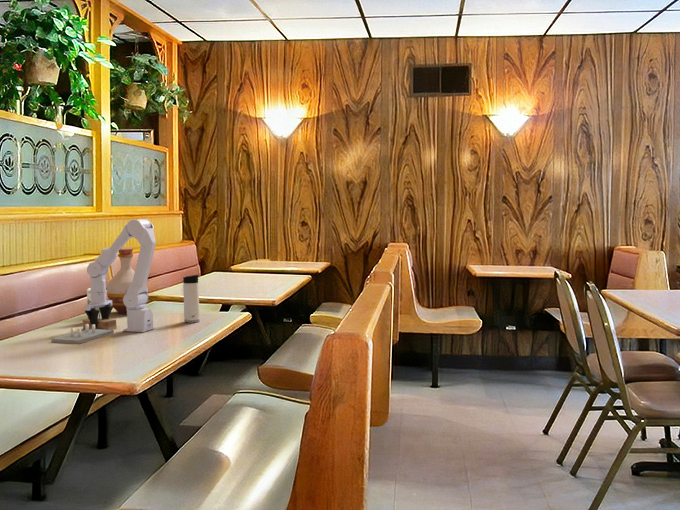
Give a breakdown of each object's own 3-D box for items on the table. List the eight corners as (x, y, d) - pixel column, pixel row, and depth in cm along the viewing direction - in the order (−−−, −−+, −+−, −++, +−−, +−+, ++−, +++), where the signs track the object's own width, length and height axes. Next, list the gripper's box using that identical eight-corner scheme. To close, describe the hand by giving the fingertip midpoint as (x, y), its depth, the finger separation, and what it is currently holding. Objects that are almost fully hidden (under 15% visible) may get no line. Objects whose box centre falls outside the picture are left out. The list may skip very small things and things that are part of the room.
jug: (105, 310, 314) (102, 247, 312) (144, 307, 322) (142, 245, 319) (109, 317, 296) (106, 249, 294) (150, 314, 304) (148, 248, 301)
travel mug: (196, 323, 279) (195, 275, 278) (181, 322, 280) (180, 275, 279) (202, 320, 285) (201, 274, 284) (188, 320, 287) (186, 273, 285)
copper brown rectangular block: (116, 329, 269) (116, 319, 269) (108, 331, 264) (108, 321, 264) (91, 327, 273) (91, 318, 273) (83, 330, 268) (82, 320, 268)
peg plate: (113, 333, 260) (113, 322, 259) (78, 343, 241) (78, 332, 240) (87, 331, 263) (87, 321, 263) (51, 342, 244) (50, 330, 244)
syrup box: (106, 320, 288) (105, 287, 287) (100, 323, 282) (99, 288, 281) (94, 320, 289) (92, 287, 288) (87, 322, 283) (86, 288, 282)
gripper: (101, 289, 276) (102, 321, 277) (77, 294, 262) (79, 328, 263) (116, 289, 273) (117, 322, 274) (92, 294, 260) (94, 329, 261)
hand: (99, 325), depth 269 cm, fingers open, 6 cm apart
